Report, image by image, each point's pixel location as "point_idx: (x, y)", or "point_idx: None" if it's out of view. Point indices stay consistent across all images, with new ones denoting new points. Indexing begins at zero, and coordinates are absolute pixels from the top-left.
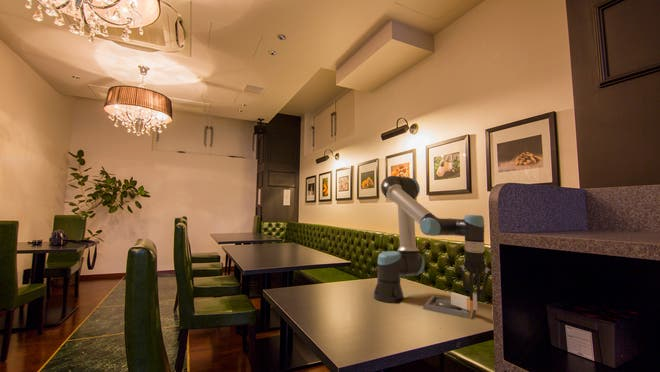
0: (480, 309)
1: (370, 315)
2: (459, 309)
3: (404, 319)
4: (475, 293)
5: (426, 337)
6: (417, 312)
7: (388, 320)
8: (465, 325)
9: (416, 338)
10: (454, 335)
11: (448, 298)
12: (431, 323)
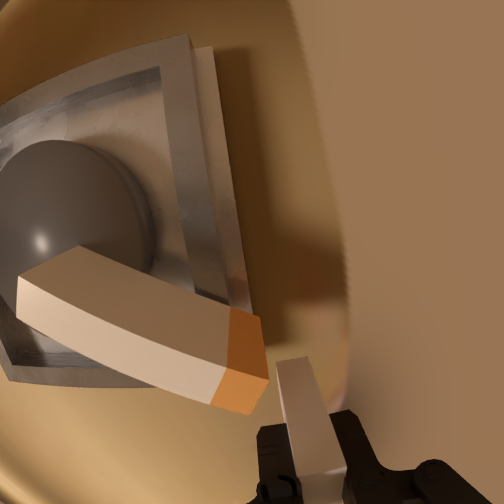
0: (251, 16)
1: (10, 463)
2: (145, 272)
3: (61, 463)
4: (328, 500)
5: None
6: None
7: (52, 480)
8: None
9: None
10: (243, 497)
11: (18, 102)
12: (132, 462)
